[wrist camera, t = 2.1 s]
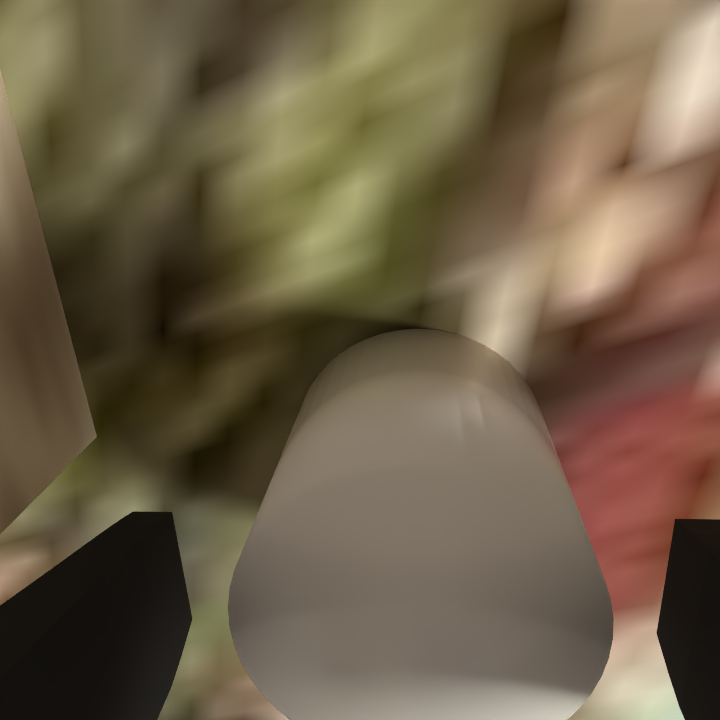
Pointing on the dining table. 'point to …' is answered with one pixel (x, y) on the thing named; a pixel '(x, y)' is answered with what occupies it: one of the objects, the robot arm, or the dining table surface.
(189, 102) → the dining table surface
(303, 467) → the beige round cylinder
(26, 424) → the block
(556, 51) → the dining table surface
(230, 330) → the dining table surface
